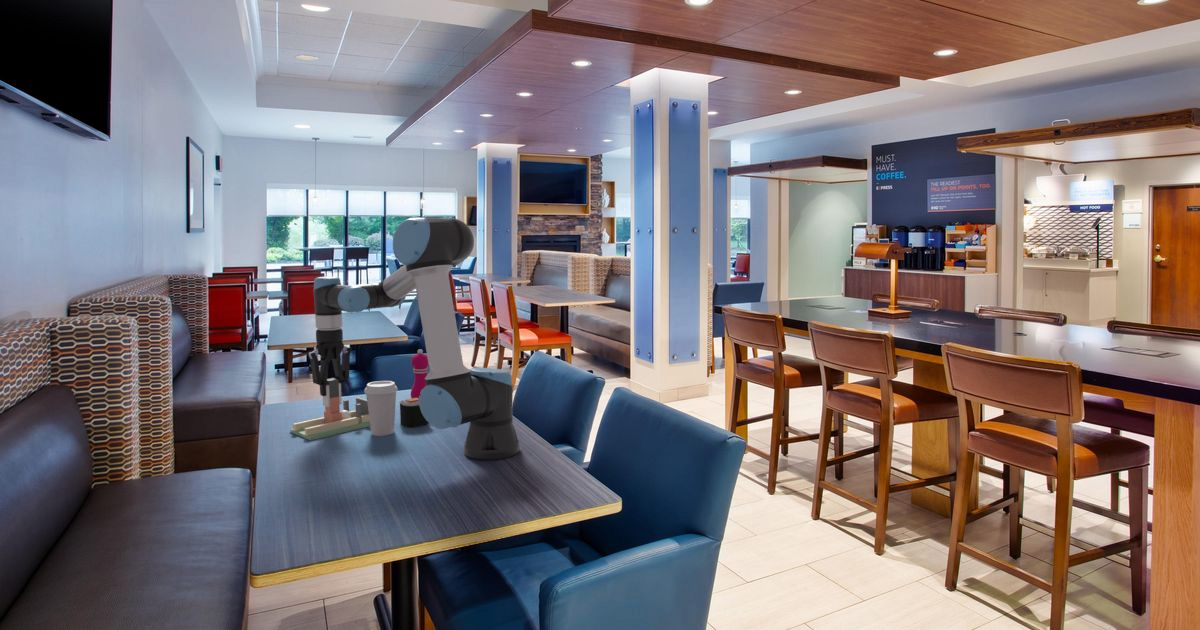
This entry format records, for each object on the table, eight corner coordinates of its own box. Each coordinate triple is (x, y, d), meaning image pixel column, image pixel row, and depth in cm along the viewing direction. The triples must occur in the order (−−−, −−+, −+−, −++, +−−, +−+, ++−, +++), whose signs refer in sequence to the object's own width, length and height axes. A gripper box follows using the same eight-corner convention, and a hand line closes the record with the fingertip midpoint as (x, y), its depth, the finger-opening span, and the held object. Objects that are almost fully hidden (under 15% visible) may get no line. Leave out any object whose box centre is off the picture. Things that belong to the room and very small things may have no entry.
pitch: (377, 424, 223) (376, 402, 222) (310, 440, 206) (309, 416, 205) (357, 417, 230) (356, 396, 229) (290, 432, 214) (289, 409, 213)
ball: (339, 420, 217) (349, 426, 220) (346, 409, 218) (356, 414, 221) (332, 418, 219) (342, 423, 222) (339, 406, 221) (349, 412, 224)
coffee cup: (404, 428, 218) (402, 380, 216) (391, 438, 209) (390, 387, 207) (373, 427, 219) (372, 379, 217) (360, 436, 210) (358, 387, 208)
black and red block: (342, 424, 217) (340, 379, 215) (332, 427, 215) (330, 381, 213) (333, 421, 220) (331, 377, 219) (324, 424, 218) (322, 379, 216)
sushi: (432, 424, 223) (431, 399, 222) (407, 429, 218) (406, 403, 217) (421, 418, 229) (420, 394, 228) (396, 423, 224) (395, 398, 223)
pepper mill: (410, 405, 246) (408, 347, 244) (431, 403, 248) (430, 346, 246) (411, 410, 239) (409, 351, 237) (433, 408, 242) (431, 350, 239)
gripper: (346, 324, 222) (349, 397, 225) (296, 330, 210) (300, 407, 213) (360, 326, 218) (363, 401, 221) (310, 332, 205) (313, 412, 208)
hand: (332, 404), depth 217 cm, fingers closed on black and red block, 3 cm apart
